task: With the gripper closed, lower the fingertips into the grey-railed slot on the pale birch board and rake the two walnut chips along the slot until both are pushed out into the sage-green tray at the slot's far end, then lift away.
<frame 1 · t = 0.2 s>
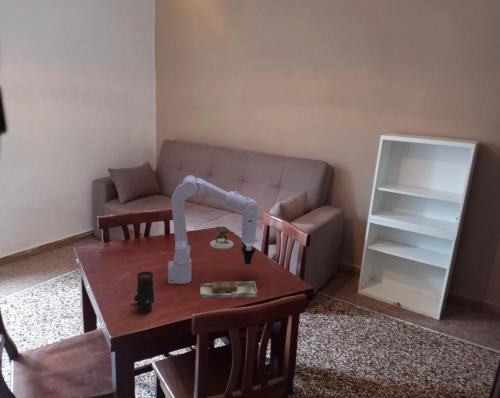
hand: (247, 259, 160), 10 cm above the table, fingers open, 7 cm apart
scope: (145, 308, 140), on the table
monster figurine: (221, 245, 200), on the table
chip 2: (230, 291, 153), point 1 cm above the table, touching slot board
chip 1: (218, 291, 152), point 1 cm above the table, touching slot board
slot board: (228, 293, 153), on the table
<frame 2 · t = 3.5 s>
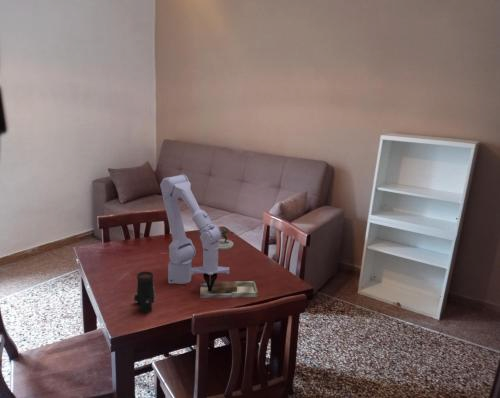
hand: (209, 289, 151), 2 cm above the table, fingers closed
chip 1: (219, 291, 152), point 1 cm above the table, touching gripper
everything else where it was.
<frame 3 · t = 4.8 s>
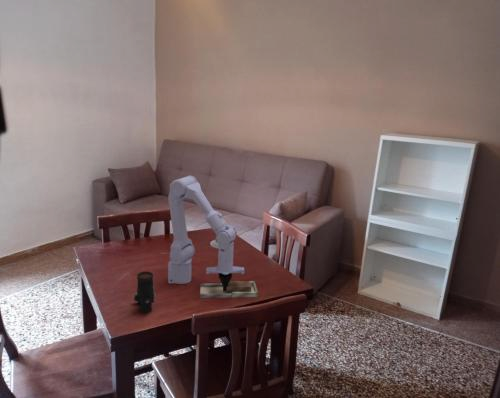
hand: (224, 289, 152), 2 cm above the table, fingers closed
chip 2: (244, 291, 153), point 1 cm above the table, touching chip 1, slot board
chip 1: (233, 291, 153), point 1 cm above the table, touching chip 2, gripper, slot board
everything else where it was.
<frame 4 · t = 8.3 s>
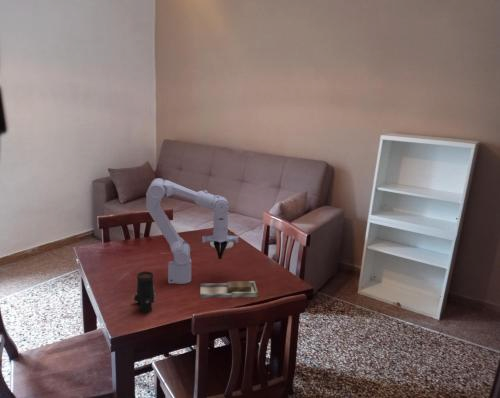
hand: (219, 258, 159), 10 cm above the table, fingers closed
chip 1: (233, 291, 153), point 1 cm above the table, touching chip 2, slot board
everything else where it was.
at the end: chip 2 inside the target area on the slot board (0.6 cm from its centre), point 0.8 cm above the slot board's base; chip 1 inside the target area on the slot board (2.8 cm from its centre), point 0.8 cm above the slot board's base; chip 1 tilted 0° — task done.
